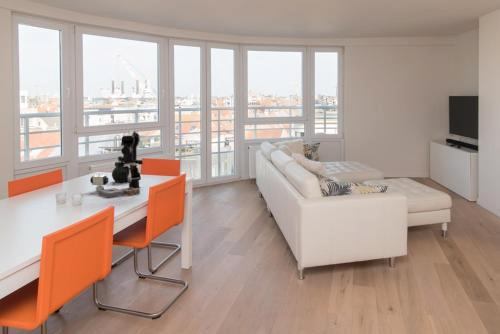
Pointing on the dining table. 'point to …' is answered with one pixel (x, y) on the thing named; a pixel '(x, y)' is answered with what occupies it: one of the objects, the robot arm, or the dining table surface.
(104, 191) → the socket plate
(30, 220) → the dining table surface
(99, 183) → the pneumatic valve
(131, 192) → the walnut mount
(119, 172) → the squash
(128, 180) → the steel pin
